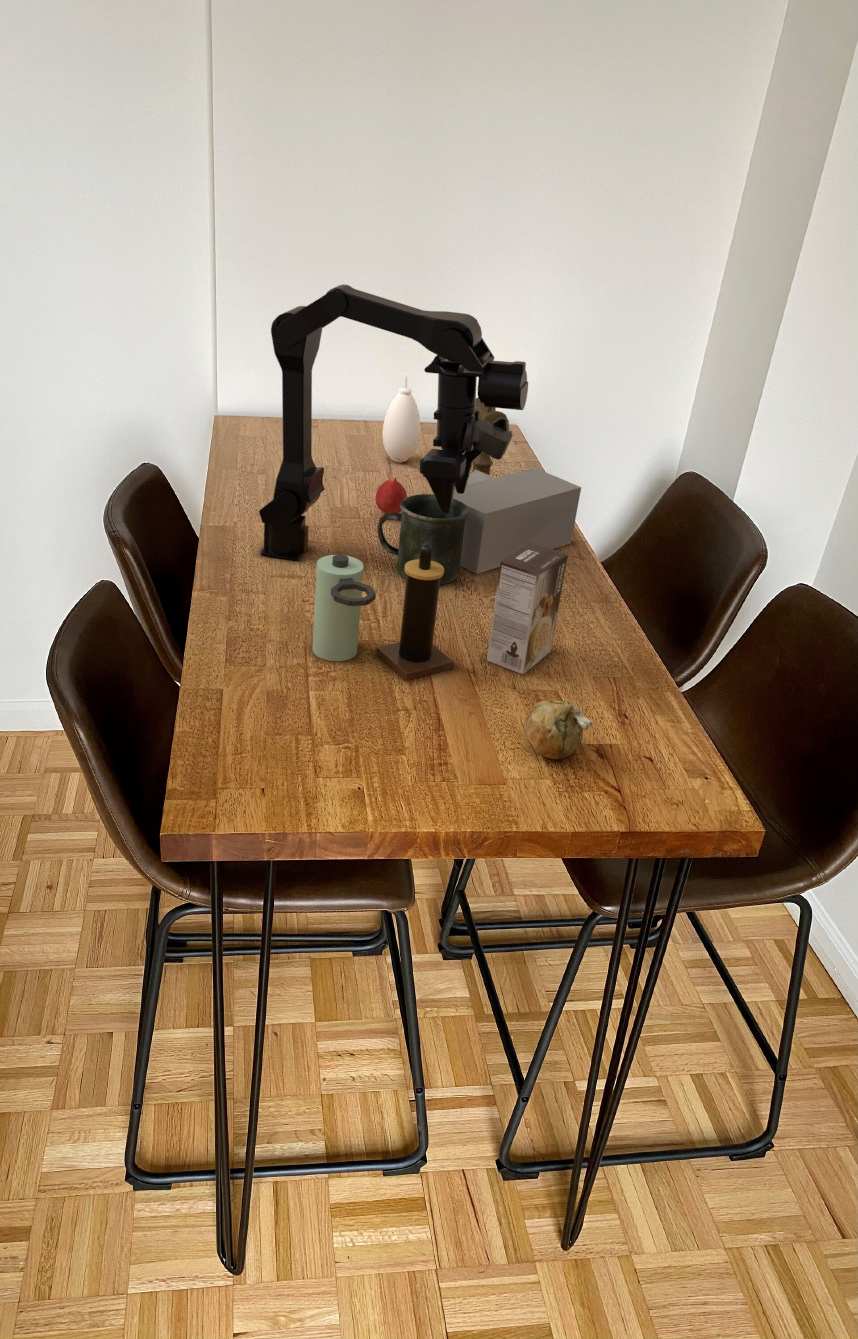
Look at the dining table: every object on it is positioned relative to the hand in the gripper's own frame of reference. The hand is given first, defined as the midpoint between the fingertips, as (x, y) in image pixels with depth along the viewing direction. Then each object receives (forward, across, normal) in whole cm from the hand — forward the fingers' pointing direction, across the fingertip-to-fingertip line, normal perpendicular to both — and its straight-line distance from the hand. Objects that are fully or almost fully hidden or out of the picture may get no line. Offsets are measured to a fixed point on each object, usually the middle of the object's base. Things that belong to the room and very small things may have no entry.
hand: (453, 502), depth 165 cm
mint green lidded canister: (+14, -31, +8) cm, 34 cm away
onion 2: (+17, -40, -24) cm, 49 cm away
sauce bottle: (+13, +54, +26) cm, 61 cm away
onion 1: (+13, +24, +18) cm, 32 cm away
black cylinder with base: (+15, -26, -2) cm, 30 cm away
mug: (+14, +3, +6) cm, 16 cm away
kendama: (+14, +50, +7) cm, 52 cm away
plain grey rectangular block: (+15, +24, +1) cm, 28 cm away
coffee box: (+16, -18, -15) cm, 28 cm away
